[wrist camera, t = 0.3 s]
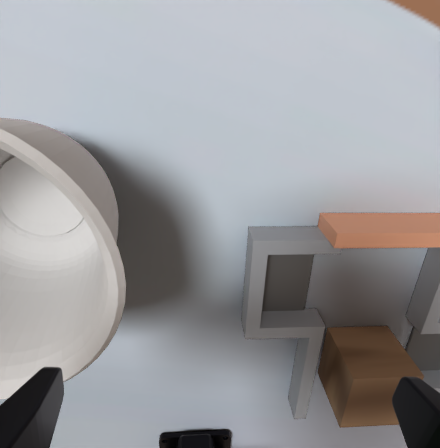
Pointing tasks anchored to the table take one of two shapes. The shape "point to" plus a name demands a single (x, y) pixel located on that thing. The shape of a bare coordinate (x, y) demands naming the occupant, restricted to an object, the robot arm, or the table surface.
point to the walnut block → (363, 374)
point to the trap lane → (299, 281)
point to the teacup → (54, 255)
